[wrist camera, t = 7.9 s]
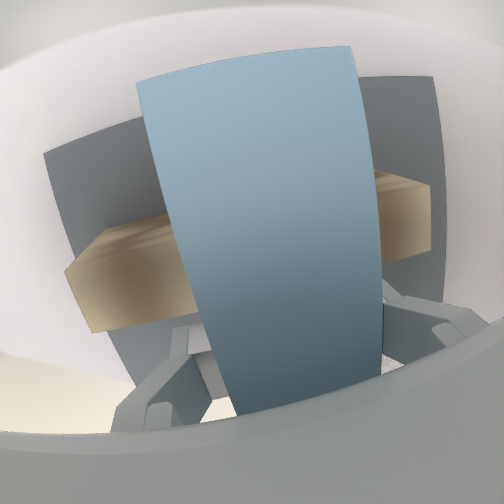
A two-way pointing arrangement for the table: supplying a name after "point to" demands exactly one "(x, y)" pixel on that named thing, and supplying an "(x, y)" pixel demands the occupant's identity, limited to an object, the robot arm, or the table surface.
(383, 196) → the beech rail
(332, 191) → the blue plate
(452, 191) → the table surface
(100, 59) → the table surface
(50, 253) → the table surface
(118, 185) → the mat
